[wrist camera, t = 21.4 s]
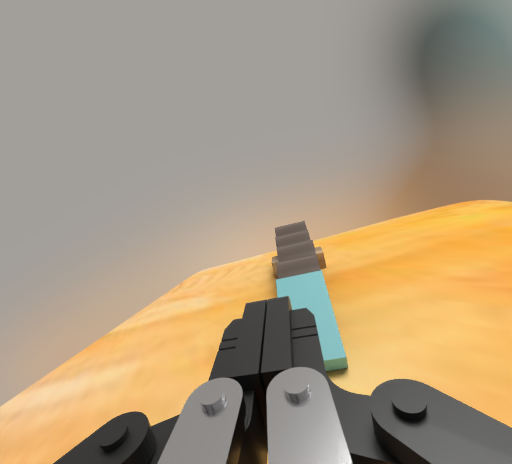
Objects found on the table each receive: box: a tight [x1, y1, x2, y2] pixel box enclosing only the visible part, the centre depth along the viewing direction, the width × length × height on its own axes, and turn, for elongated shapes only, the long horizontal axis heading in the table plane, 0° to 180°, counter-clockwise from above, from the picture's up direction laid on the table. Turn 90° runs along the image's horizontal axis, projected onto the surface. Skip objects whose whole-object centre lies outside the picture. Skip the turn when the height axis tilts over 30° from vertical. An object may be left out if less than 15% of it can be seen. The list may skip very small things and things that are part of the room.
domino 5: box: [276, 270, 348, 371], centre depth 28 cm, size 2×5×10 cm
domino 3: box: [277, 240, 316, 262], centre depth 37 cm, size 2×5×10 cm
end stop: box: [272, 247, 326, 278], centre depth 46 cm, size 3×8×2 cm, turn 85°
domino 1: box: [275, 221, 307, 237], centre depth 45 cm, size 2×5×10 cm
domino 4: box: [277, 255, 321, 279], centre depth 32 cm, size 2×5×10 cm
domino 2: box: [276, 230, 310, 248], centre depth 41 cm, size 2×5×10 cm
